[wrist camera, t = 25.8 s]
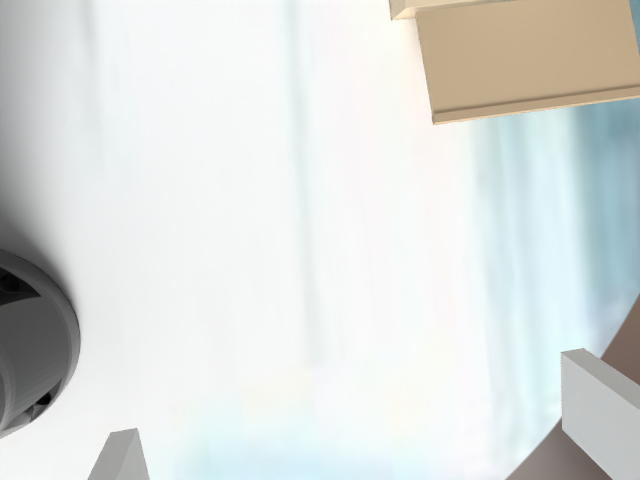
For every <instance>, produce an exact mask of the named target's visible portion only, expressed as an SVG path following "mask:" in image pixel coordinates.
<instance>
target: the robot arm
mask: <svg viewBox="0 0 640 480" xmlns="http://www.w3.org/2000/svg"><path fill="white" fill-rule="evenodd" d="M79 352H80V334H79V327H78V323H77V319H76V316H75V314H74V311H73V309H72V307H71V305H70V303H69V301H68V299H67V298H66V296H65V295H64V293H63V292H62V290H61V289H60V288H59V287H58V285H57V284H56V283H55V282H54V281H53V280H52V279H51V278H50V277H49V276H48V275H46V274H45V273H44V272H43V271H42V270H40V269H39V268H37V267H36V266H34V265H33V264H31V263H30V262H28V261H26V260H24V259H22V258H20V257H18V256H16V255H13V254H11V253H8V252H5V251H1V250H0V439H1V438H3V437H5V436H7V435H9V434H11V433H13V432H15V431H17V430H18V429H20V428H22V427H24V426H26V425H28V424H29V423H31V422H33V421H34V420H35V419H37V418H38V417H39V416H40V415H42V414H43V413H44V412H45V411H46V410H47V409H48V408H49V407H50V406H51V405H52V404H53V403H54V402H55V400H56V399H57V398H58V396H59V395H60V394H61V393H62V391H63V390H64V389H65V387H66V386H67V384H68V383H69V381H70V379H71V378H72V376H73V374H74V371H75V369H76V366H77V362H78V358H79ZM561 393H562V430H564V432H565V433H567V434H568V435H569V436H570V437H571V438H572V439H573V440H574V441H575V442H576V443H577V444H578V445H579V446H580V447H581V448H582V449H583V450H584V451H585V452H586V453H587V454H588V455H589V456H590V457H591V458H592V459H593V460H594V461H595V462H596V463H597V464H598V465H599V466H600V467H601V468H602V469H603V470H604V471H605V472H606V473H607V474H608V475H609V476H610V477H611V478H612V479H613V480H640V386H639V385H637V384H636V383H634V382H633V381H631V380H630V379H628V378H627V377H626V376H624V375H622V374H621V373H620V372H618V371H617V370H615V369H614V368H612V367H611V366H609V365H608V364H606V363H605V362H603V361H602V360H600V359H599V358H597V357H596V356H594V355H593V354H591V353H590V352H589V351H587V350H586V349H584V348H582V349H576V350H571V351H565V352H561ZM88 480H150V479H149V475H148V471H147V467H146V462H145V458H144V454H143V450H142V446H141V441H140V437H139V433H138V429H137V428H134V429H129V430H123V431H118V432H112V433H110V435H109V437H108V439H107V441H106V443H105V445H104V447H103V449H102V451H101V453H100V455H99V457H98V459H97V461H96V463H95V465H94V467H93V469H92V471H91V474H90V476H89V478H88Z"/></svg>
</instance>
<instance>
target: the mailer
mask: <svg viewBox="0 0 640 480" xmlns="http://www.w3.org/2000/svg"><path fill="white" fill-rule="evenodd" d="M507 1H516V0H390V12H391V20H399V19H408V18H416V16H415V13H416V12H419V11H428V10H437V9H445V8H454V7H463V6H472V5H481V4H490V3H498V2H507Z"/></svg>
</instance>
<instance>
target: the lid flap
mask: <svg viewBox="0 0 640 480" xmlns="http://www.w3.org/2000/svg"><path fill="white" fill-rule="evenodd" d="M415 16H416V22H417V28H418V34H419V40H420V46H421V52H422V58H423V64H424V69H425V75H426V81H427V87H428V93H429V99H430V105H431V111H432V121H433V125H438V124H445V123H452V122H460V121H467V120H475V119H482V118H490V117H497V116H505V115H512V114H520V113H527V112H535V111H542V110H550V109H557V108H564V107H572V106H579V105H587V104H594V103H602V102H609V101H617V100H624V99H632V98H639V97H640V56H639V51H638V46H637V41H636V35H635V30H634V25H633V20H632V15H631V9H630V4H629V0H516V1H507V2H498V3H490V4H481V5H472V6H463V7H454V8H445V9H437V10H428V11H419V12H416V13H415Z"/></svg>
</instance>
